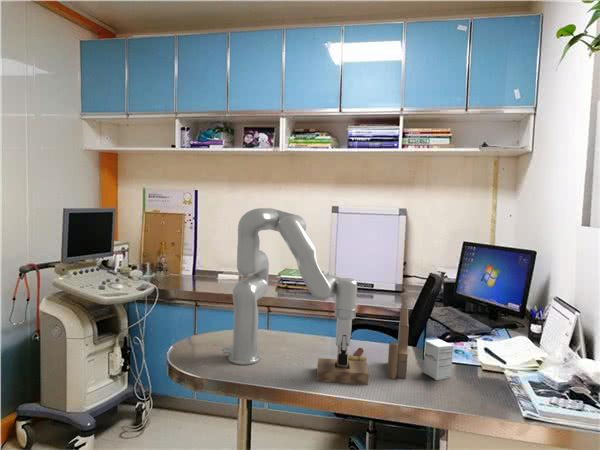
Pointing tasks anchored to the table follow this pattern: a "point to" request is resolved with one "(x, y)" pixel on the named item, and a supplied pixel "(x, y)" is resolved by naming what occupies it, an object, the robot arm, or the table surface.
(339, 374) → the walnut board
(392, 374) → the wooden toy
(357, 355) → the gavel
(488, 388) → the table surface
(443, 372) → the supplement box
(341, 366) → the wooden pepper mill
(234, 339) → the robot arm
